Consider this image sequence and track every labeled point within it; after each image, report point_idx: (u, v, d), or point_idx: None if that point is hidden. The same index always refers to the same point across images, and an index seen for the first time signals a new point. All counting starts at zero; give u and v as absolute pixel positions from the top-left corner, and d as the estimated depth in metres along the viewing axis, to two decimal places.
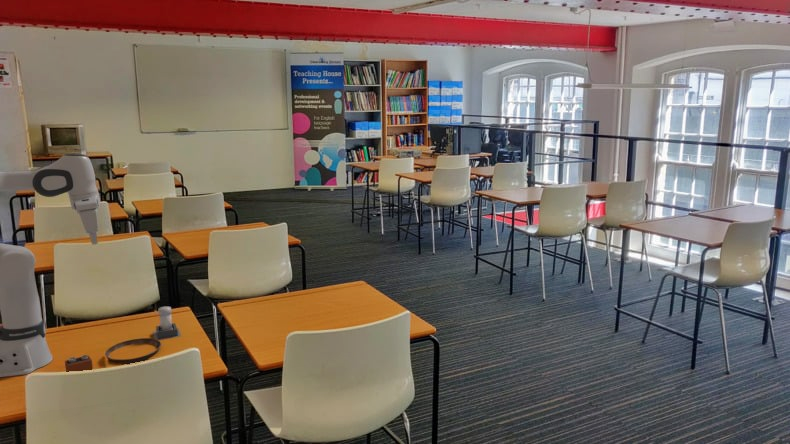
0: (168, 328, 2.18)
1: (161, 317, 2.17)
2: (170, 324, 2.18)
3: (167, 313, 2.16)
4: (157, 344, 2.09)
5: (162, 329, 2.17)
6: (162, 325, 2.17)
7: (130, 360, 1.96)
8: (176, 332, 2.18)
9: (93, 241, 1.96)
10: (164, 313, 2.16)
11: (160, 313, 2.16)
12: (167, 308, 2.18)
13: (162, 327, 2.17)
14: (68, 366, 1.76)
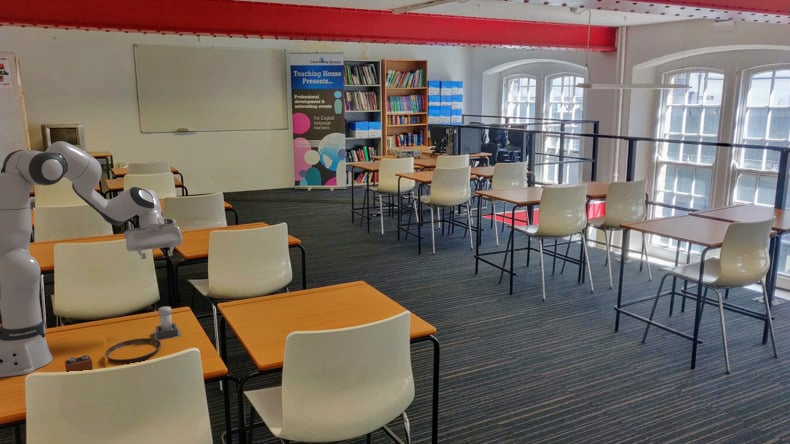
0: (168, 328, 2.18)
1: (161, 317, 2.17)
2: (170, 324, 2.18)
3: (167, 313, 2.16)
4: (157, 344, 2.09)
5: (162, 329, 2.17)
6: (162, 325, 2.17)
7: (130, 360, 1.96)
8: (176, 332, 2.18)
9: None
10: (164, 313, 2.16)
11: (160, 313, 2.16)
12: (167, 308, 2.18)
13: (162, 327, 2.17)
14: (68, 366, 1.76)
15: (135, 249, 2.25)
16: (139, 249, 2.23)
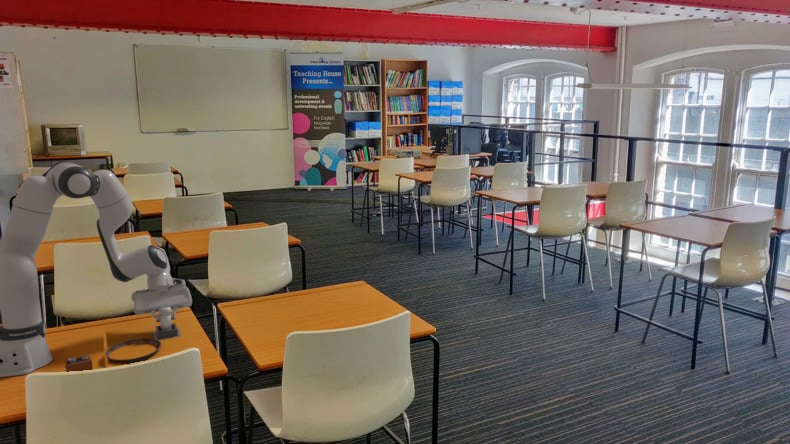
0: (168, 328, 2.18)
1: (161, 317, 2.17)
2: (170, 324, 2.18)
3: (167, 313, 2.16)
4: (157, 344, 2.09)
5: (162, 329, 2.17)
6: (162, 325, 2.17)
7: (130, 360, 1.96)
8: (176, 332, 2.18)
9: None
10: (164, 313, 2.16)
11: (160, 313, 2.16)
12: (167, 308, 2.18)
13: (162, 327, 2.17)
14: (68, 366, 1.76)
15: (143, 312, 2.17)
16: (153, 312, 2.17)
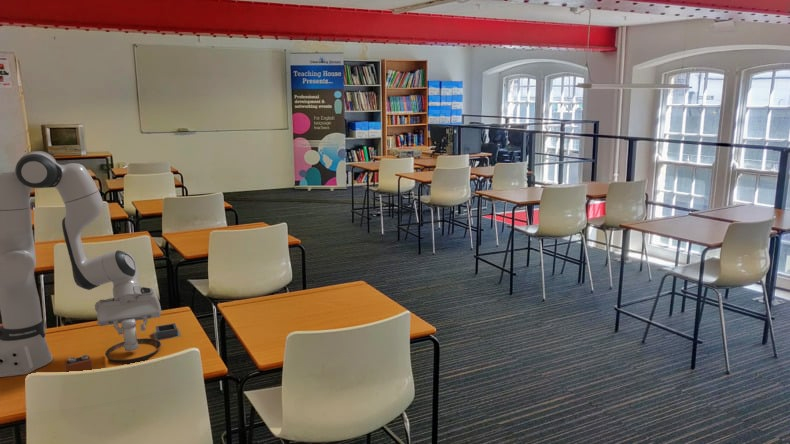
0: (132, 342, 2.01)
1: (124, 330, 2.00)
2: (134, 338, 2.02)
3: (131, 326, 2.00)
4: (157, 344, 2.09)
5: (126, 343, 2.01)
6: (126, 339, 2.01)
7: (129, 360, 1.96)
8: (176, 332, 2.18)
9: None
10: (127, 326, 1.99)
11: (123, 326, 2.00)
12: (131, 320, 2.01)
13: (126, 341, 2.01)
14: (68, 366, 1.76)
15: (107, 323, 2.01)
16: (115, 323, 2.01)
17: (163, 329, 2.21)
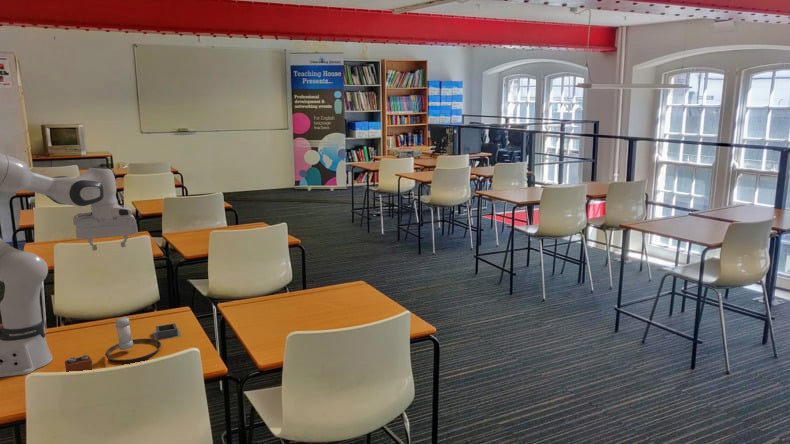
0: (128, 340, 2.03)
1: (119, 329, 2.01)
2: (130, 335, 2.03)
3: (126, 324, 2.01)
4: (157, 345, 2.09)
5: (121, 342, 2.02)
6: (121, 337, 2.02)
7: (129, 360, 1.96)
8: (176, 332, 2.18)
9: None
10: (123, 324, 2.01)
11: (118, 325, 2.01)
12: (125, 319, 2.03)
13: (121, 340, 2.02)
14: (68, 366, 1.76)
15: None
16: (90, 241, 2.13)
17: (163, 329, 2.21)
